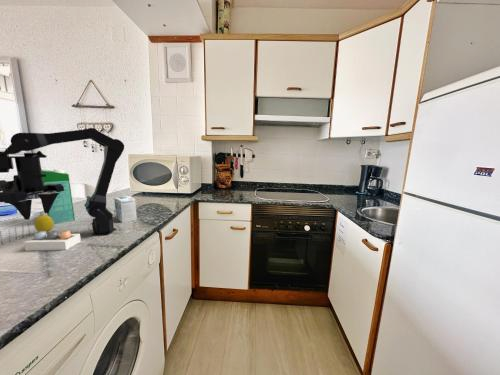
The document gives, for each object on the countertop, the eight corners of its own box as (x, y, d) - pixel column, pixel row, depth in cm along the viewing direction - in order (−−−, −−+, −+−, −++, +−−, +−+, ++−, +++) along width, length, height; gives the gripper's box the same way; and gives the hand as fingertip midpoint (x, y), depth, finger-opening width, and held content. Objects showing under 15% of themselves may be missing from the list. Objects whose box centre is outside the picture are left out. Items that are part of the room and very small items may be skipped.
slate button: (49, 238, 76) (48, 231, 75) (42, 242, 73) (40, 234, 72) (40, 239, 76) (39, 231, 75) (33, 242, 73) (31, 234, 72)
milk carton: (75, 220, 102) (67, 169, 98) (49, 224, 96) (40, 170, 91) (72, 216, 108) (65, 168, 104) (48, 220, 102) (39, 169, 97)
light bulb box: (115, 218, 106) (113, 197, 104) (130, 215, 111) (128, 195, 109) (122, 223, 99) (120, 200, 97) (137, 219, 104) (135, 198, 102)
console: (44, 241, 78) (42, 234, 77) (80, 241, 79) (79, 233, 78) (25, 250, 71) (24, 242, 70) (66, 249, 72) (64, 241, 71)
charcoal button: (61, 238, 76) (60, 230, 76) (54, 242, 73) (53, 234, 73) (52, 238, 76) (51, 230, 75) (45, 242, 73) (44, 234, 72)
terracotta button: (73, 238, 76) (72, 230, 76) (67, 241, 73) (65, 233, 73) (64, 238, 76) (63, 230, 76) (58, 242, 73) (56, 233, 73)
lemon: (53, 230, 90) (50, 212, 88) (56, 233, 86) (53, 214, 85) (35, 233, 85) (32, 214, 84) (37, 237, 82) (33, 217, 80)
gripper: (31, 169, 79) (38, 209, 81) (-32, 174, 60) (-20, 226, 63) (62, 169, 80) (68, 208, 82) (9, 174, 61) (19, 225, 64)
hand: (37, 216), depth 73 cm, fingers open, 7 cm apart
